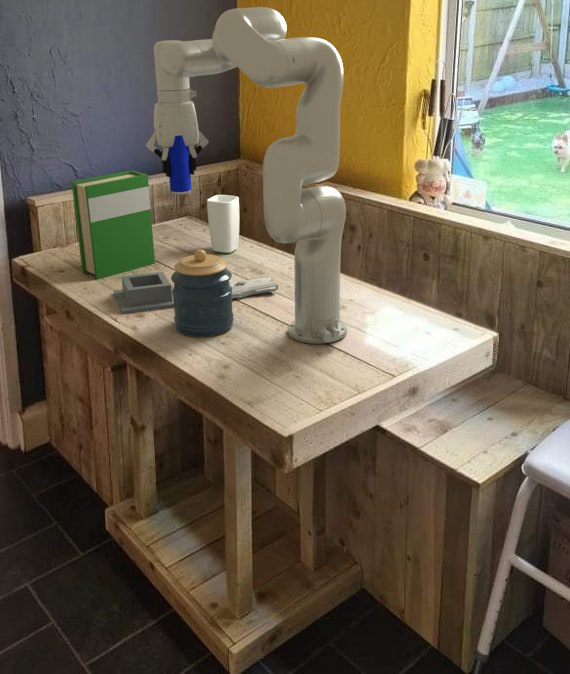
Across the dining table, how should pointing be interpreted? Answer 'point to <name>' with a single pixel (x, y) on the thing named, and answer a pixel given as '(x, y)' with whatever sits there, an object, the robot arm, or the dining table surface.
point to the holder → (144, 293)
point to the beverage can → (179, 167)
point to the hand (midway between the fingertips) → (179, 174)
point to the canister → (202, 295)
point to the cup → (223, 222)
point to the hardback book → (114, 223)
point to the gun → (252, 287)
